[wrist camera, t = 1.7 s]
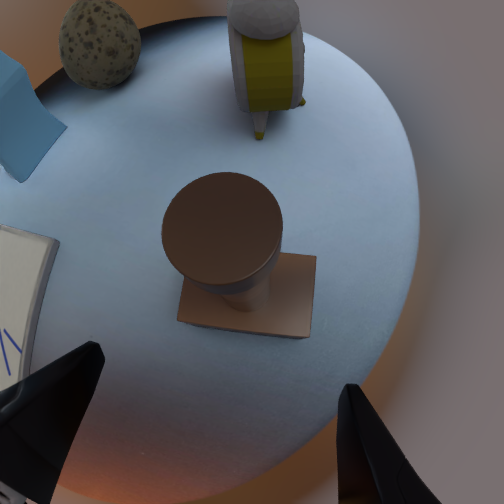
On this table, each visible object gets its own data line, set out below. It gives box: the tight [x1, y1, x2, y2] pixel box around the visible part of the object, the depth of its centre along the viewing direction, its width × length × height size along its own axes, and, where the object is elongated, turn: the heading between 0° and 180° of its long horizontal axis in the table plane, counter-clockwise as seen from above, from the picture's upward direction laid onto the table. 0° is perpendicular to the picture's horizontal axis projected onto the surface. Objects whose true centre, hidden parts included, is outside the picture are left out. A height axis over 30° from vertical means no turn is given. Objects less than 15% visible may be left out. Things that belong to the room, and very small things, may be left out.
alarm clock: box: [227, 0, 306, 139], centre depth 21 cm, size 12×7×15 cm, turn 3°
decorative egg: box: [59, 0, 141, 90], centre depth 25 cm, size 11×11×15 cm
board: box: [0, 224, 60, 391], centre depth 22 cm, size 20×12×1 cm, turn 168°
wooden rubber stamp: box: [161, 172, 316, 339], centre depth 15 cm, size 5×8×14 cm, turn 83°
